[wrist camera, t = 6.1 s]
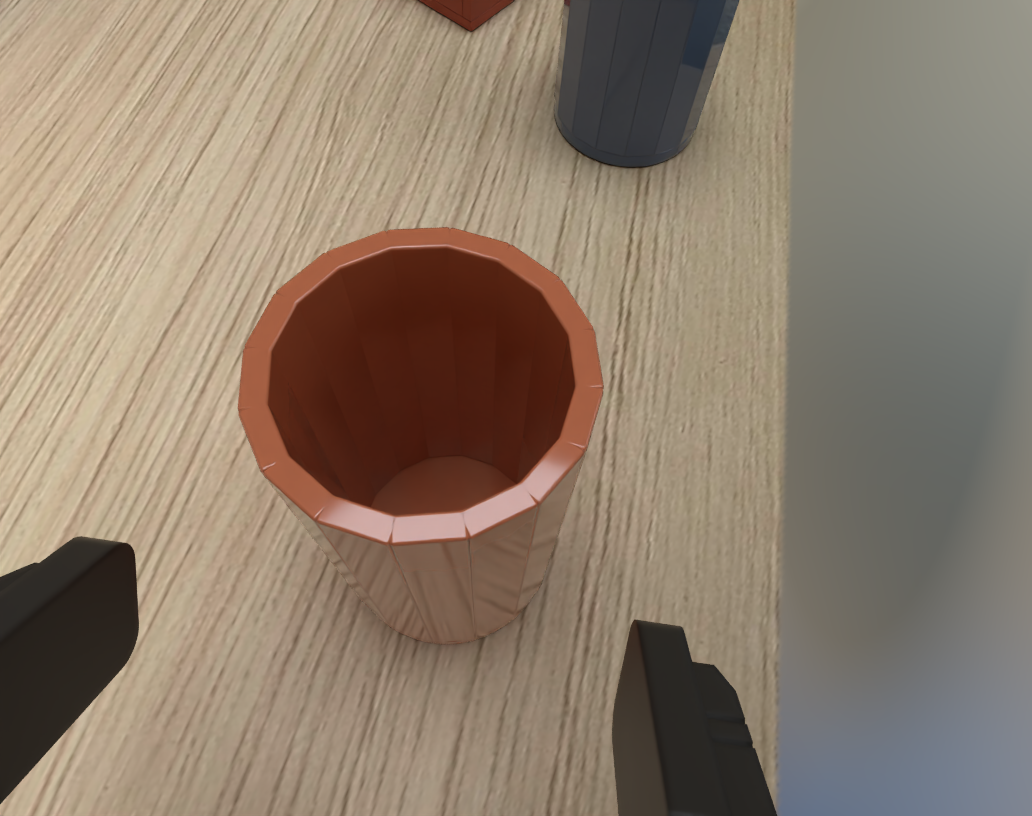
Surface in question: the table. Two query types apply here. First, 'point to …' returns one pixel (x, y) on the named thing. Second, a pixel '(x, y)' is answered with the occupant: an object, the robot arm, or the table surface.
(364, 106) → the table surface
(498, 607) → the terracotta cup
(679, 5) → the slate cup
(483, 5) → the rust tray
